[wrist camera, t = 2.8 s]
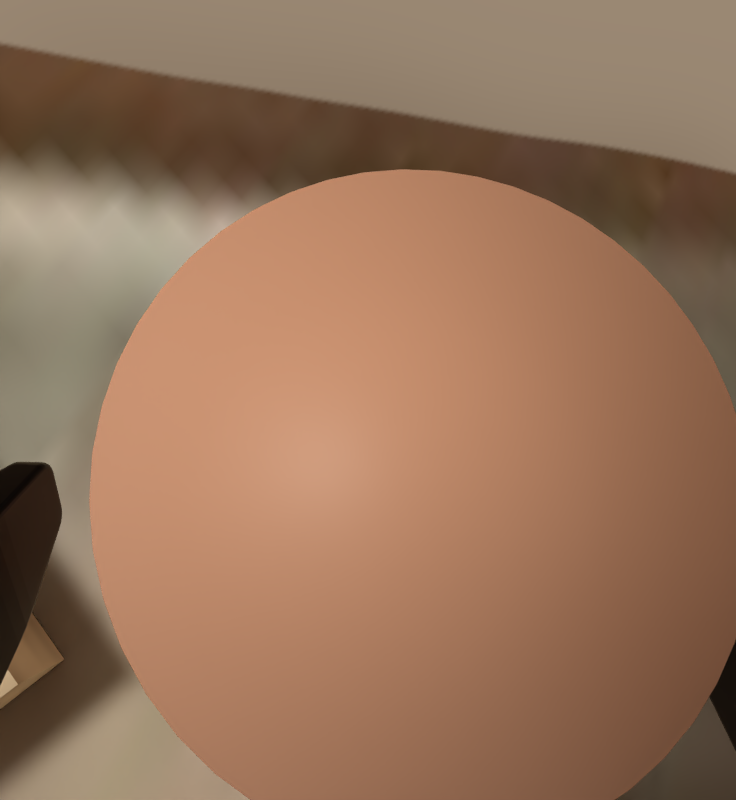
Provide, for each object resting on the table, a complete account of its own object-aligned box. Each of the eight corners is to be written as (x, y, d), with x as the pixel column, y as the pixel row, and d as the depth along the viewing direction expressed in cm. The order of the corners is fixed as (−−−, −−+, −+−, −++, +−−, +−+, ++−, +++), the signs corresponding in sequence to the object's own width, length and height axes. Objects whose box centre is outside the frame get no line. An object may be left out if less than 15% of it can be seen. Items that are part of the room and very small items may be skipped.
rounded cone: (423, 613, 16) (803, 836, 4) (233, 614, 15) (35, 881, 3) (422, 430, 17) (709, 197, 5) (246, 423, 16) (133, 141, 5)
